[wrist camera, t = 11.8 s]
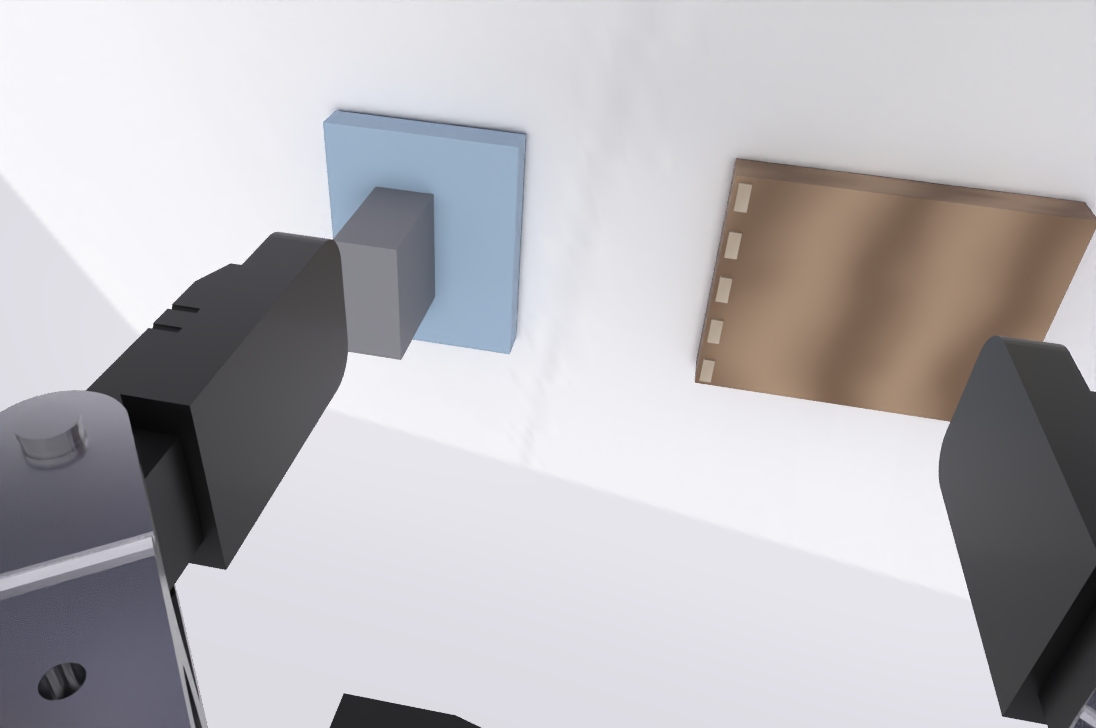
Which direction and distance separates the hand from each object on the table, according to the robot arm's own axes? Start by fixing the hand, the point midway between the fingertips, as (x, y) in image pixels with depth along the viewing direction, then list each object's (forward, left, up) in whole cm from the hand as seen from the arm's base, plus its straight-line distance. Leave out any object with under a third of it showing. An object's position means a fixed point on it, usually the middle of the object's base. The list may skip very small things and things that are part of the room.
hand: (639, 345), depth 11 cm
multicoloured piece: (+12, +16, -32) cm, 38 cm away
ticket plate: (-11, +16, -32) cm, 38 cm away
